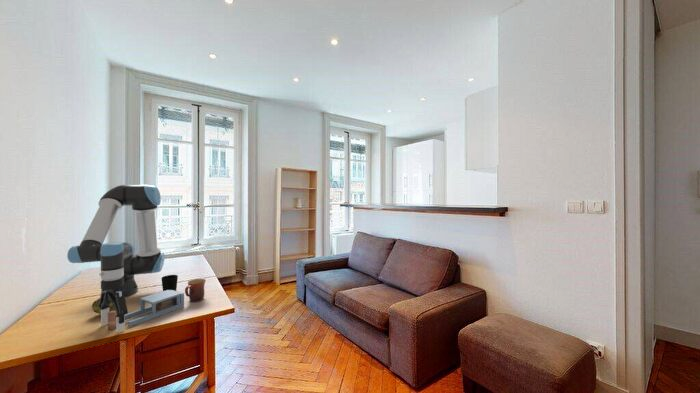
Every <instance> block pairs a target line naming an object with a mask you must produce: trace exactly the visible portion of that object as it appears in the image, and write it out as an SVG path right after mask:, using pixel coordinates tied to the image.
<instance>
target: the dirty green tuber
mask: <svg viewBox="0 0 700 393" xmlns="http://www.w3.org/2000/svg"><path fill="white" fill-rule="evenodd" d="M99 300H100V297H99V298H97V299H96V300H95V301H93V303H92V305H91V308H92V311H93V312H94V313H96V314H99V315H100V316H101V309H100V307H98V304H99ZM101 304H102V303H101ZM109 305H110V306H109V307H108V308H109V312H111V311H116V310H115V307H114V305H113V303H111V302H110V304H109Z"/></svg>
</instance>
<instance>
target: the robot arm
mask: <svg viewBox="0 0 700 393" xmlns="http://www.w3.org/2000/svg"><path fill="white" fill-rule="evenodd" d="M161 199H162V198H161V193H160V190H159V188H158V187H157V186H155V185H152V184H120V185H117V186H115V187H112V188H110V189H109V190H107V191H106V193H104V194H103V195H102V196H101V197H100V199H99V201H98V208H97V210H96V212H95V215H94V217H93V219H92V220H91V222H90V225H89V226H88V228H87V230H86V233H85V234H84V237H83V238H82V240H81V242H80V244H79V245H74V246H73V245H72V246H71V247H70V248H69V249H68V251H67V260H68V262H69V263H72V264H83V263H92V262H93V263H95V262H96V263H97V262H100V273H99V276H100V290H101V293H100V295H99V296H100V297H99V298H100V300H99V304H98V307H100V309H101V315H100V325H101V326H103V325H105V324H108V312H109V308H108V307H109V306H110V305H109V304H110V302H111V303H113V305H114V307H115V310H116V313H117V315H116V329H115V331H116V333H117V332H118V333H119V332H121V331H124V330H126V322H125V314H128V313H129V312H128V306H127V302H126V299H125V297H128V296H131V295H133V294H136V293H137V292H138V291H139V286H138V284H137V282H136V280H135V275H148V274H156V273H160V272H161V271H162V269H163V267H164V263H165V253H164V252H161V248H159V247H158V240H157V238H158V237H157V229H156V228H157V227H156V216H155V215H156V212H155V211H156V210H157V208H158V206H160V205H161V201H162V200H161ZM125 206H127V207H128V206H129V207H130V206H131V210H132V211H134V212H135V216H136V227H137V236H138V237H137V240H138V247H139V248H138V249H139V250H138V251H137V252H136V253H135V250H136V248H135V246H134V245H133V243H131V242H126V241H125V242H120V241H112V242H107V243H104V242H105V241H106V238H107V236H108V234H109V231H110V229H111V227H112V224H113V222H114V220H115V217H116V215H117V214H118V211H120V210H121V209H122V208H123V207H125ZM101 303H102V304H101Z"/></svg>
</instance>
